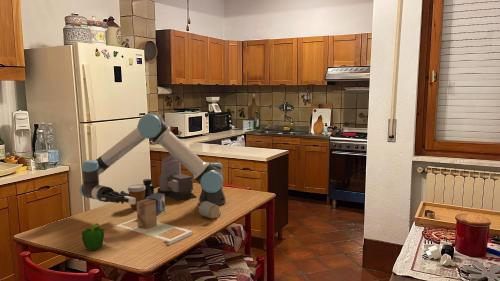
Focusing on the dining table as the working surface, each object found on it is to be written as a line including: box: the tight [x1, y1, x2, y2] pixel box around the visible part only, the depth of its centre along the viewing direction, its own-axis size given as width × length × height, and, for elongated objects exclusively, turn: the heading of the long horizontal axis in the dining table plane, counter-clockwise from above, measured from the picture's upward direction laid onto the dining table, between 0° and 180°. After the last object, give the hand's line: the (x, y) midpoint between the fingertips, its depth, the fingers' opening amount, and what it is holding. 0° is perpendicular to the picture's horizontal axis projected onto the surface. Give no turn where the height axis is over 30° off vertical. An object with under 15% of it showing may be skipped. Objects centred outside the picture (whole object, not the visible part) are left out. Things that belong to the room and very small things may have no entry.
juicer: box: [155, 155, 198, 202], centre depth 233 cm, size 30×16×24 cm, turn 42°
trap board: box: [116, 217, 193, 246], centre depth 173 cm, size 35×14×2 cm, turn 56°
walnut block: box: [136, 199, 158, 230], centre depth 174 cm, size 6×6×12 cm
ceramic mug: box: [198, 201, 222, 219], centre depth 192 cm, size 11×8×8 cm
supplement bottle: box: [142, 178, 155, 199], centre depth 223 cm, size 7×7×12 cm
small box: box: [145, 192, 166, 217], centre depth 194 cm, size 11×6×10 cm, turn 168°
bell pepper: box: [81, 222, 105, 251], centre depth 154 cm, size 8×8×10 cm
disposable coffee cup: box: [127, 183, 146, 210], centre depth 208 cm, size 10×10×12 cm
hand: (134, 201), depth 177 cm, fingers closed
